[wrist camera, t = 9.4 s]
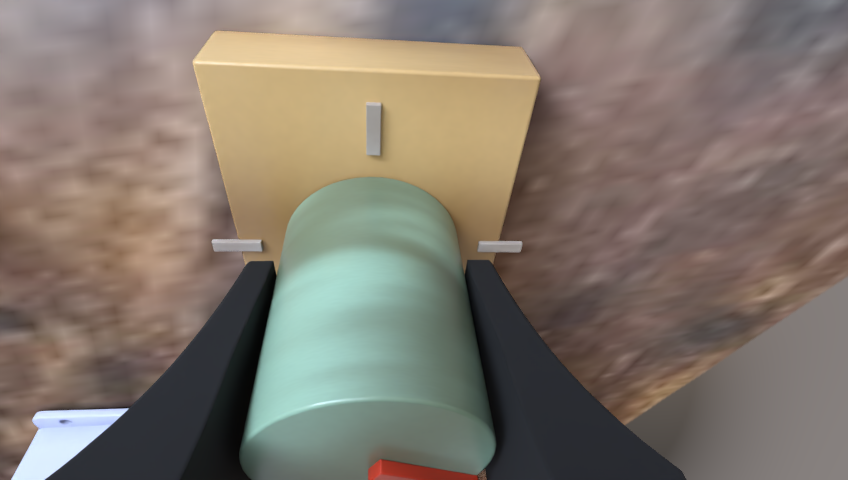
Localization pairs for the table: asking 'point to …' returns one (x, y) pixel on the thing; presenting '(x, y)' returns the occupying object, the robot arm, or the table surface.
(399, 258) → the mint green cylinder
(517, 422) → the robot arm
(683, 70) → the table surface
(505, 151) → the tan flat wooden board
